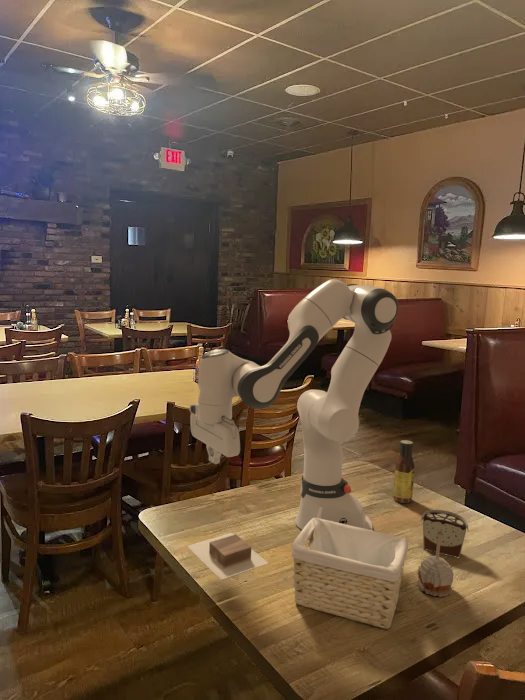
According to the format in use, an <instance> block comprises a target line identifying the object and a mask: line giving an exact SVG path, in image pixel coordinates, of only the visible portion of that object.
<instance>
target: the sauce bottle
mask: <svg viewBox="0 0 525 700" xmlns="http://www.w3.org/2000/svg"><path fill="white" fill-rule="evenodd" d="M399 447H400V448H399V449H400V450H399V456H398V457H397V458H396V460H395V468H394V476H393V477H394V478H393V492H392V494H393V500H394V501H395V502H396V503H400V504H409V503H411V502H412V501H413V495H414V485H415V484H414V481H415V470H416V469H415V467H416V466H415V462H414V458H413V448H414V442H413V441H411V440H408V439H407V440H406V439H405V440H400V443H399Z"/></svg>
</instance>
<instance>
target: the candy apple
mask: <svg viewBox="0 0 525 700" xmlns="http://www.w3.org/2000/svg"><path fill="white" fill-rule="evenodd" d="M441 533H442V531H441V530H438V538H437V548H436V552H435V555H432V556H431V555H430V556H429V555H428V556H427V557H426V558H424V559H423V561H420V565H418V569H417V572H416V575H418V576H417V577H418V579H417V581H416V584H417V587H418V588H419V589H420V590H421V591H422V592H425V594H427V595H428V594H429V595H430V596H434V597H435V596H438V597H439V598H440V597H447V596H449V595H450V594H451V593H452V590H453V588H452V584H453V581H454V572H453V569H452V566H451V564H450V563H448V561H446V560H445V559H444V558H443V557H440V553H439V552H440V543H441Z"/></svg>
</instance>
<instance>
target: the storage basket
mask: <svg viewBox="0 0 525 700" xmlns="http://www.w3.org/2000/svg"><path fill="white" fill-rule="evenodd" d="M408 543H409V541H408V539H407V538H405V536H399V535H396V534H395V535H394V534H391V533H386V532H382V531H378V530H368V529H364V528H359V527H354V526H350V525H345V524H341V523H337V522H332V521H328V520H323V519H319V518H312V519H311V520H310V521H309V522H308V524H307V525H306V526H305V527H304V529H303V530H301V531H300V533H299V534H298V535H297V537H296V538H295V540H293V542H292V547H291V549H292V550H291V558H293V576H292V577H293V581H294V582H293V587H294V593H293V594H294V603H295V604H296V605H299V606H301V607H305V608H307V609H313V610H316V611H319V612H323V613H326V614H331V615H333V616H337V617H341V618H346V619H349V620H351V621H356V622H359V623H363V624H367V625H372V626H374V627H378V628H382V629H386V630H388V629H390V628H391V626H392V622H393V619H394V618H393V617H394V615H395V612H396V609H397V604H398V601H399V597H400V596H399V594H400V588H401V585H402V584H401V583H402V578H403V571H404V565H405V561H406V558H407V556H408V550H409V544H408ZM306 545H308V547H307V548H306Z"/></svg>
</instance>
